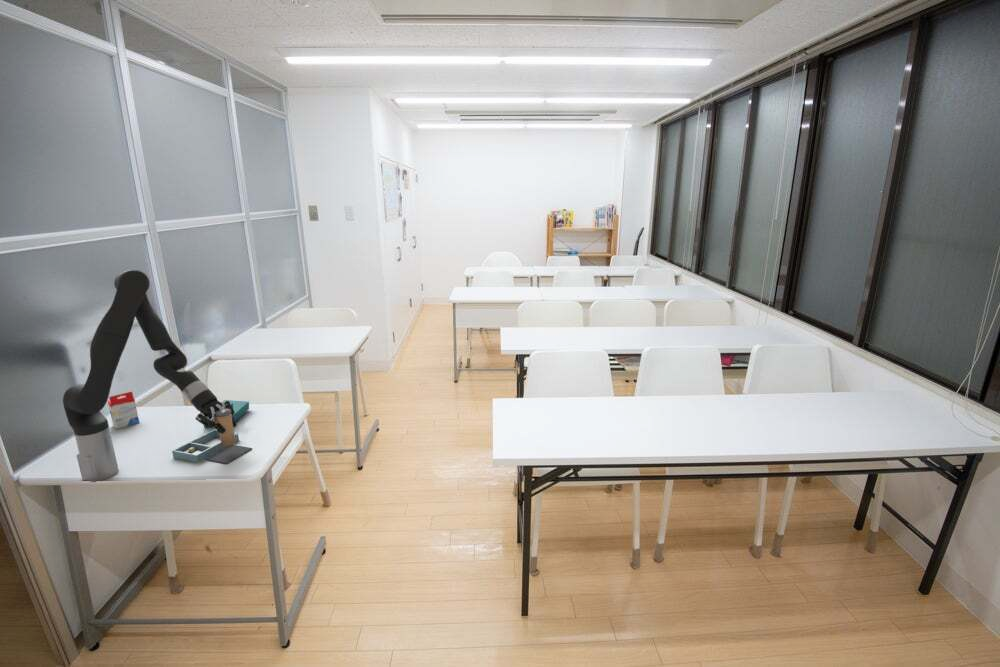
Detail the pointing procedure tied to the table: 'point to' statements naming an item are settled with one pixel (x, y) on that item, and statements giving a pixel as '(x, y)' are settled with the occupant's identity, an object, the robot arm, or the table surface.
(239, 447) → the black mat
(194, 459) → the parts tub
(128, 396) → the ink box
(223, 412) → the brown canister
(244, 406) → the teal notched block
